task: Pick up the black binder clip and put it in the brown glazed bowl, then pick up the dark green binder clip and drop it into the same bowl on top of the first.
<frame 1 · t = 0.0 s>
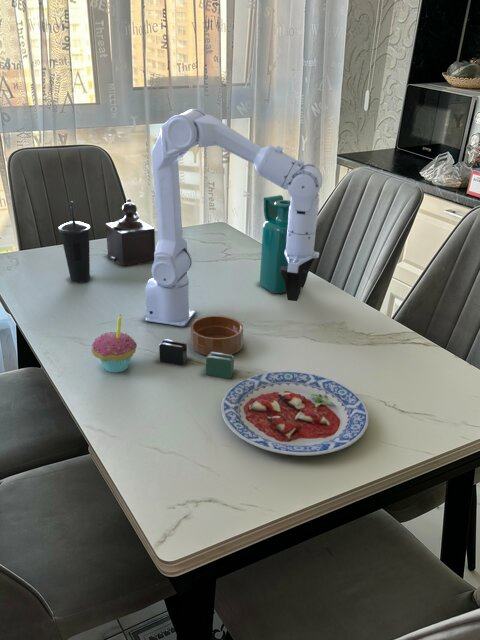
hand: (295, 293, 129), 10 cm above the table, tool pointing down, fingers open, 7 cm apart
black clip: (173, 360, 123), on the table
cupcake: (115, 367, 120), on the table
ceramic plate: (293, 419, 107), on the table
green clip: (219, 373, 119), on the table
drinking cup: (80, 279, 158), on the table
teal green bottle: (277, 286, 158), on the table
bowl: (216, 345, 129), on the table
dark brown knobbed box: (134, 261, 170), on the table
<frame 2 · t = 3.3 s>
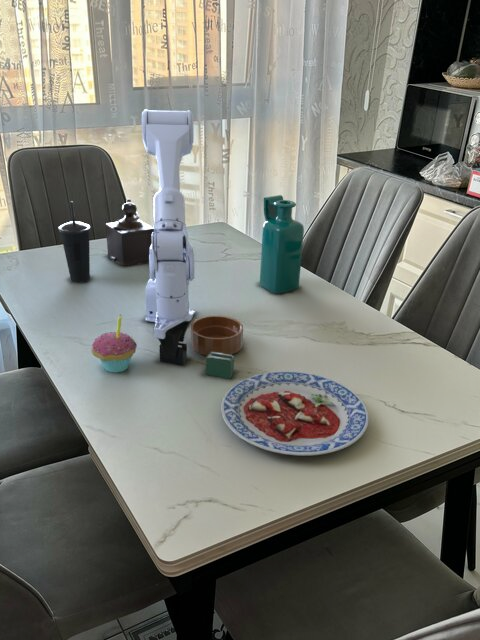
hand: (173, 354, 122), 1 cm above the table, tool pointing down, fingers closed on black clip, 2 cm apart
black clip: (173, 360, 123), on the table, touching gripper
everything else where it was.
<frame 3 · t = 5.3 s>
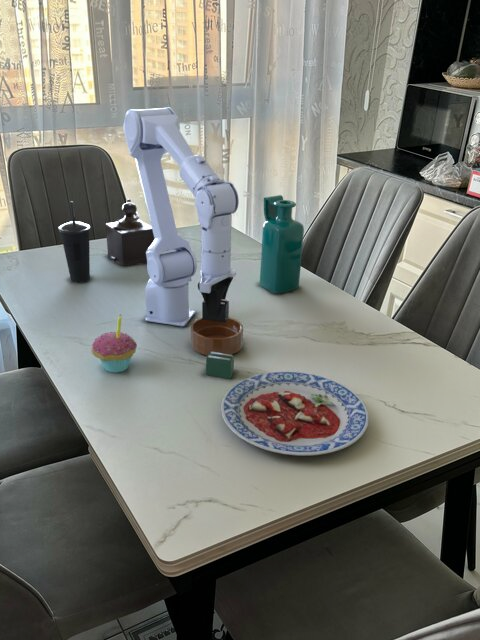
hand: (215, 312, 124), 8 cm above the table, tool pointing down, fingers closed on black clip, 2 cm apart
black clip: (215, 318, 125), point 7 cm above the table, touching gripper
everything else where it was.
when the fingers open (2 cm above the table, at t = 7.7 s): black clip stays where it is, resting on bowl.
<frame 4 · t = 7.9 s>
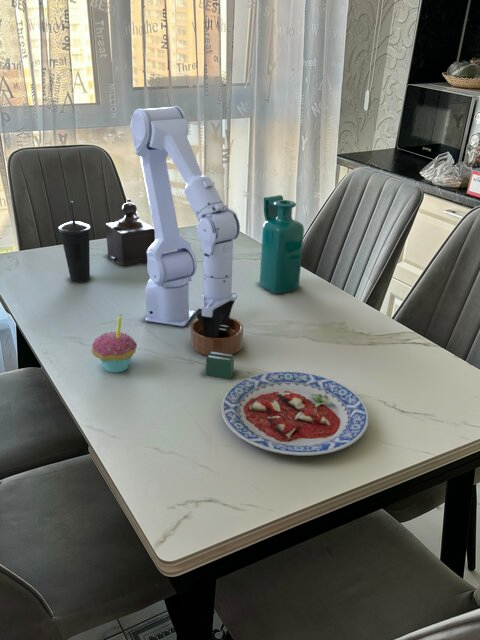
hand: (216, 334, 127), 3 cm above the table, tool pointing down, fingers open, 7 cm apart
black clip: (216, 343, 129), resting on bowl
everything else where it was.
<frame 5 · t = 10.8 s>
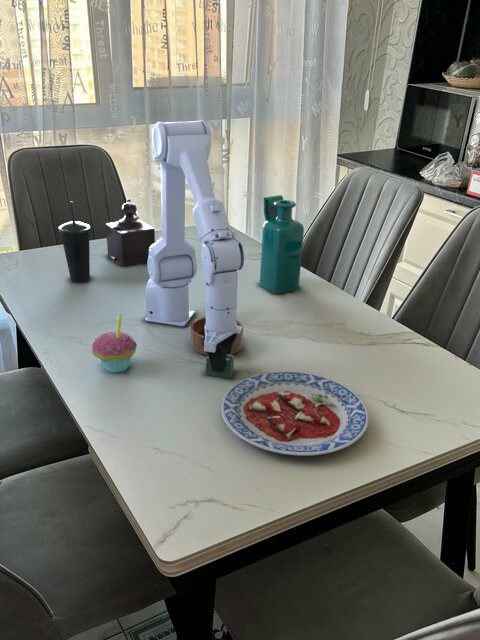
hand: (220, 367, 118), 1 cm above the table, tool pointing down, fingers closed on green clip, 2 cm apart
green clip: (219, 373, 119), on the table, touching gripper
everything else where it was.
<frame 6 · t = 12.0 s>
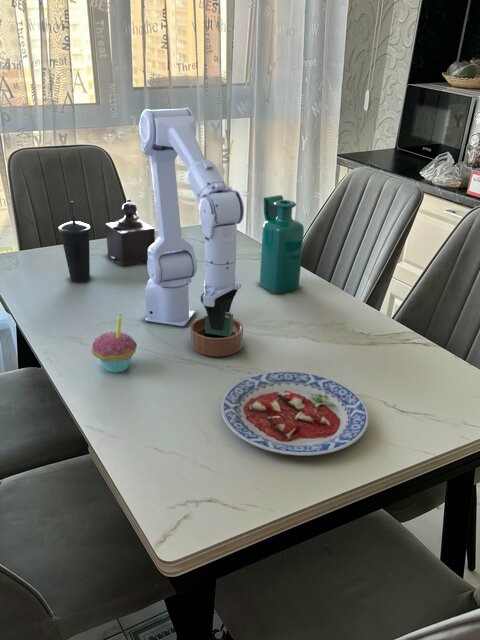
hand: (218, 325, 118), 8 cm above the table, tool pointing down, fingers closed on green clip, 2 cm apart
green clip: (218, 332, 119), point 7 cm above the table, touching gripper
everything else where it was.
when the fingers open (6 cm above the table, at t = 13.5 s): green clip stays where it is and tips over, resting on black clip.
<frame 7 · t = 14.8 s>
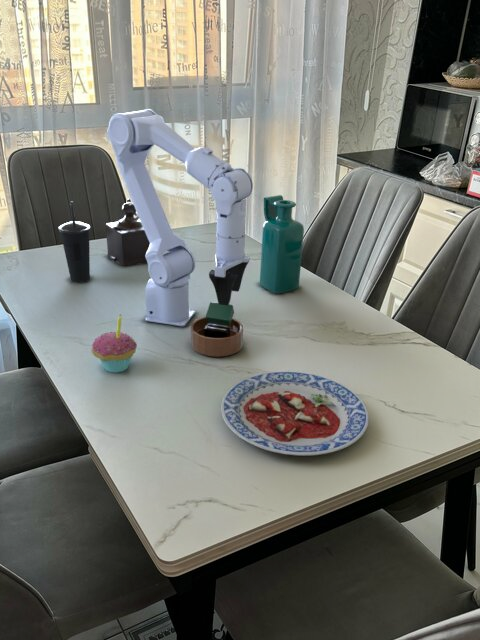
hand: (229, 297, 128), 9 cm above the table, tool pointing down, fingers open, 7 cm apart
black clip: (216, 343, 129), resting on bowl, touching green clip
green clip: (217, 322, 126), point 5 cm above the table, tilted 58°, touching black clip
everything else where it was.
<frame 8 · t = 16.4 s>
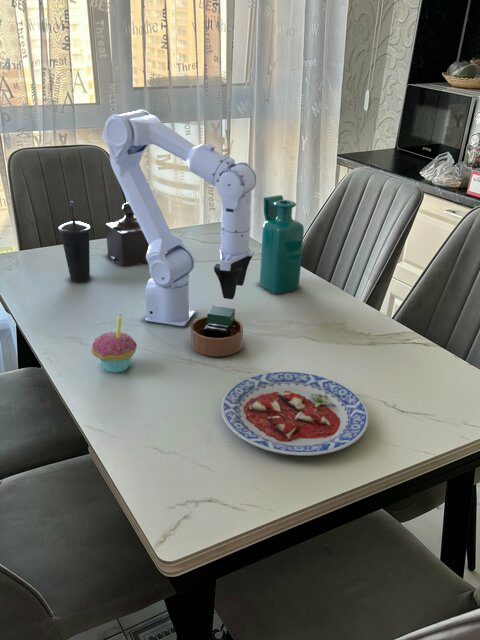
hand: (233, 291, 129), 10 cm above the table, tool pointing down, fingers open, 7 cm apart
green clip: (218, 320, 127), point 6 cm above the table, tilted 87°, touching black clip, bowl
everything else where it was.
at the end: black clip inside the target area on the bowl (0.1 cm from its centre), point 0.5 cm above the bowl's base; green clip inside the target area on the bowl (1.0 cm from its centre), point 5.5 cm above the bowl's base; the gripper is holding nothing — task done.
